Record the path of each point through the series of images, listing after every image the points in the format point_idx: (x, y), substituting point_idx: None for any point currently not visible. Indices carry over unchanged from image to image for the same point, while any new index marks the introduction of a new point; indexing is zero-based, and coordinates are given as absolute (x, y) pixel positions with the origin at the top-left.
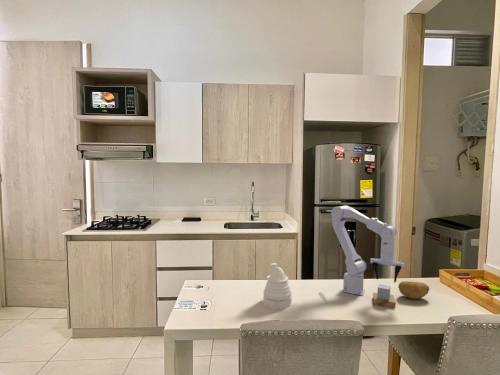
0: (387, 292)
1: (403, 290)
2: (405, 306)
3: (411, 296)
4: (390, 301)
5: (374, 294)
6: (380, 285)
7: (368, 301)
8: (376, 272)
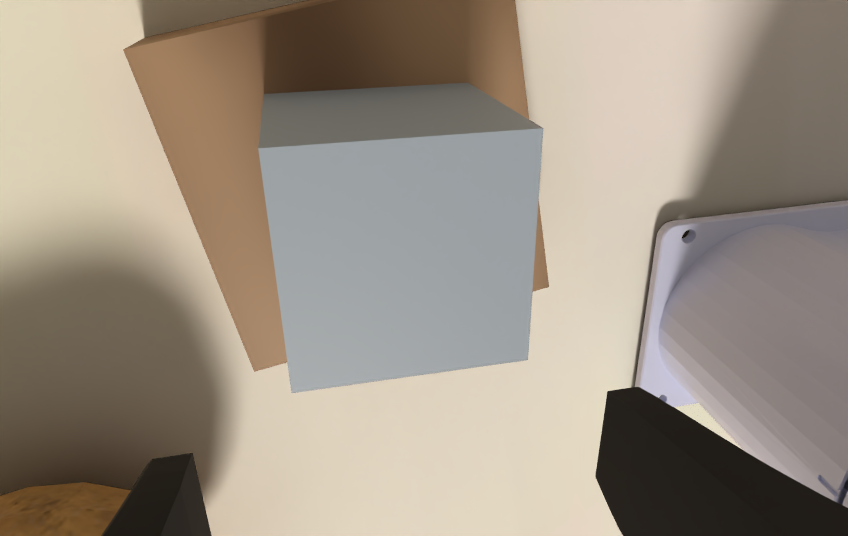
0: (300, 122)
1: None
2: (27, 203)
3: (9, 495)
4: (222, 46)
5: None
6: (494, 295)
7: (568, 66)
8: (790, 504)
